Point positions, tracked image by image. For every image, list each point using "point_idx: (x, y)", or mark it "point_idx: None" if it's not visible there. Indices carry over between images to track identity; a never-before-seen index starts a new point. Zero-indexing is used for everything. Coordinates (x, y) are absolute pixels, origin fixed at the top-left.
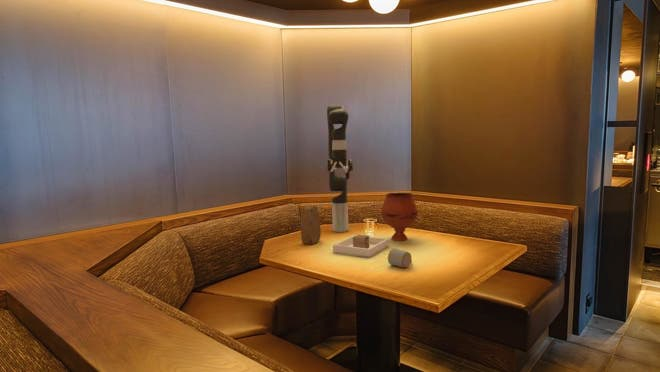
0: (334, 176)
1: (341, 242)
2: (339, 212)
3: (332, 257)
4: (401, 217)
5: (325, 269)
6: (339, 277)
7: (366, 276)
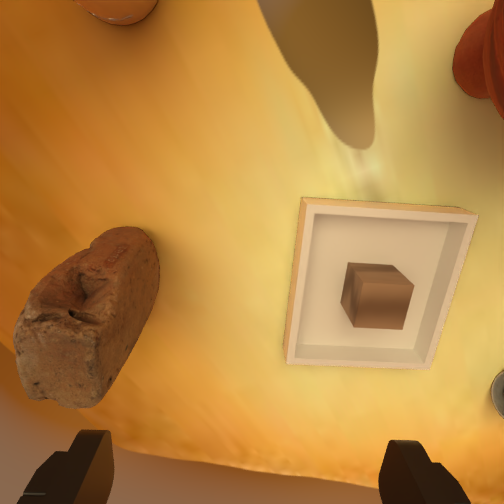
0: (90, 484)
1: (299, 319)
2: None
3: (303, 383)
4: None
5: (329, 461)
6: None
7: None
